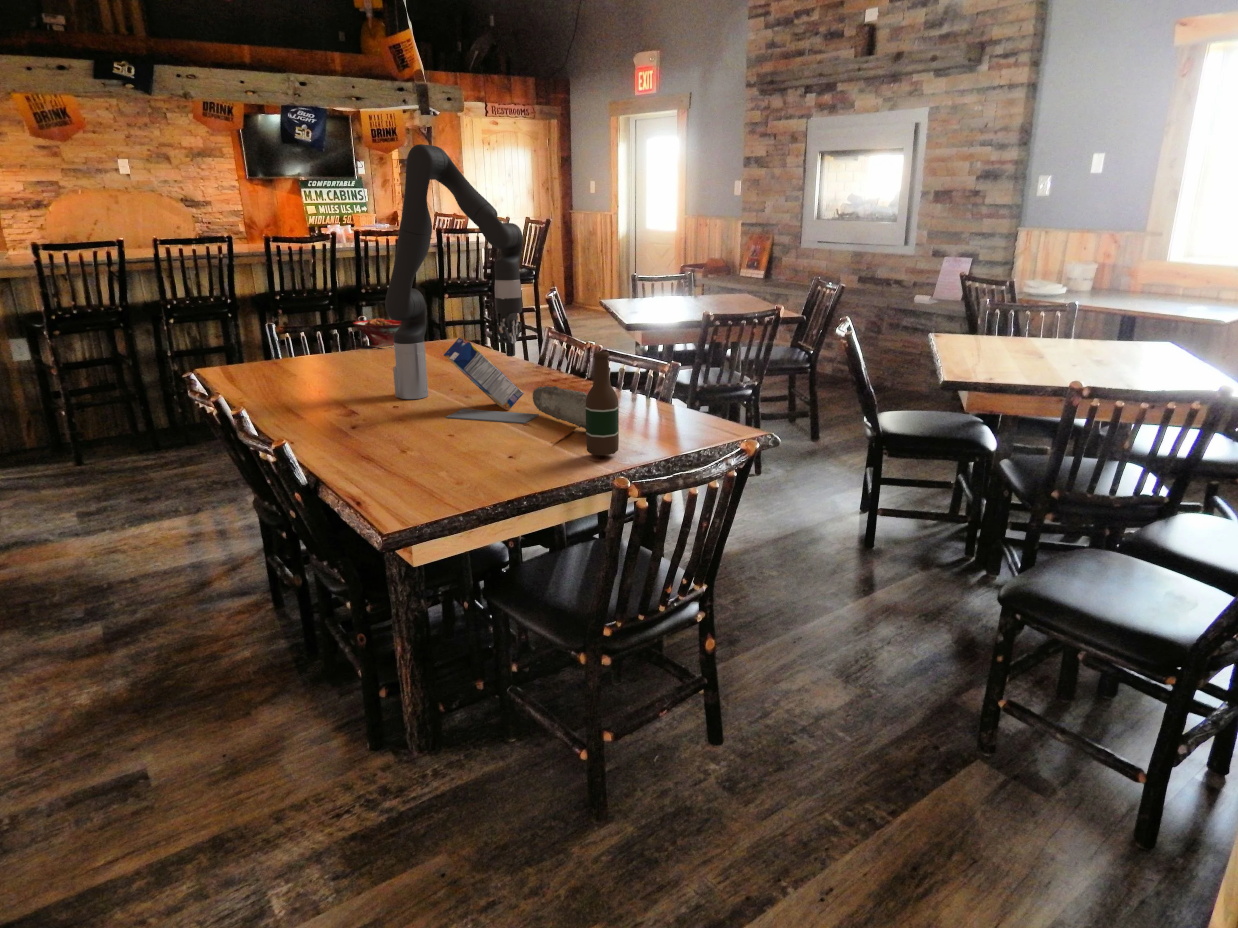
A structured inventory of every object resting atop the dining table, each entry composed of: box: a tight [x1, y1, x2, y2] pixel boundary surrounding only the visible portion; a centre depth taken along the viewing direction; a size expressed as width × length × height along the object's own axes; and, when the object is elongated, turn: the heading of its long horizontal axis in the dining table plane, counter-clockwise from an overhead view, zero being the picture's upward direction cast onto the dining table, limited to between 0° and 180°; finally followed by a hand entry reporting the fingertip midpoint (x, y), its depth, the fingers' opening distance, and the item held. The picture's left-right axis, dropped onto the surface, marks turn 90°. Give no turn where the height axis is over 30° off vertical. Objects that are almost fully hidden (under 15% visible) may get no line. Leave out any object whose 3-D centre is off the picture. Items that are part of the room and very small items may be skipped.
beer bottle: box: [585, 350, 620, 456], centre depth 194 cm, size 8×8×24 cm
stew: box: [352, 317, 401, 350], centre depth 346 cm, size 28×24×16 cm
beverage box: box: [443, 337, 524, 412], centre depth 239 cm, size 7×11×22 cm
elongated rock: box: [532, 385, 588, 430], centre depth 221 cm, size 35×5×10 cm, turn 40°
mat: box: [445, 408, 540, 425], centre depth 232 cm, size 24×10×1 cm, turn 73°
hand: (510, 356), depth 241 cm, fingers closed
